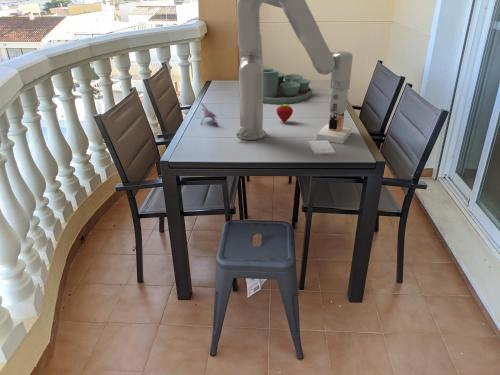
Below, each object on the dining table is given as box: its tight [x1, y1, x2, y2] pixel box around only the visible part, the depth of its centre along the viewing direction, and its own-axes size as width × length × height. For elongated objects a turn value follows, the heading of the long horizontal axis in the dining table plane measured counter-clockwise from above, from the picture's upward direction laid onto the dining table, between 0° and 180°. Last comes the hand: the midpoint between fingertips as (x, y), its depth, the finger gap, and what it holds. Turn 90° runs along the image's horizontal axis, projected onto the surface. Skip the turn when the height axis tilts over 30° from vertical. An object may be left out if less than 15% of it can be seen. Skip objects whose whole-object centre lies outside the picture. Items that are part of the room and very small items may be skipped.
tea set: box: [263, 65, 313, 105], centre depth 227 cm, size 40×40×16 cm
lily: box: [198, 100, 218, 124], centre depth 185 cm, size 12×12×10 cm
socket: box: [315, 123, 353, 145], centre depth 169 cm, size 14×11×2 cm
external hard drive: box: [307, 140, 337, 156], centre depth 158 cm, size 2×8×12 cm
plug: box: [328, 115, 345, 131], centre depth 169 cm, size 4×5×8 cm
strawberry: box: [276, 103, 294, 123], centre depth 184 cm, size 6×8×10 cm
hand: (336, 125), depth 169 cm, fingers open, 9 cm apart
